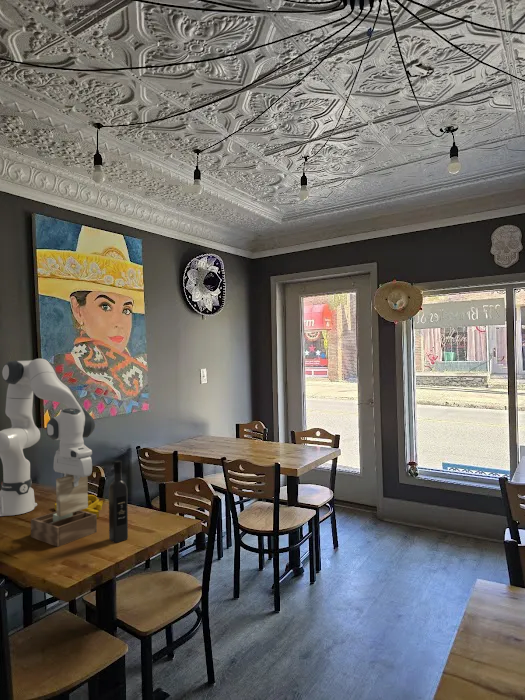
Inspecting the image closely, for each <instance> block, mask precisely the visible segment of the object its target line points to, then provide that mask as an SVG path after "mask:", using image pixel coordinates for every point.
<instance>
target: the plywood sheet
mask: <svg viewBox="0 0 525 700" xmlns="http://www.w3.org/2000/svg"><path fill="white" fill-rule="evenodd" d="M88 477H89V476H87V477H80V479H79V481H78V486H76V487H74V486H72V482H74V476H73V475H69V476H65V477H64V476H62V477H58V478H56V479H55V484H56V485H55V486H56V489H55V490H56V493H55V495H56V504H57V516H60V517H61V516H64V515H67V514H70V513H73V512H76V511H79V510H82V509H85V508H88V495H89V494H88V493H89V487H88V486H89V485H88V481H89V479H88Z"/></svg>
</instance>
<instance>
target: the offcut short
mask: <svg viewBox="0 0 525 700" xmlns="http://www.w3.org/2000/svg"><path fill="white" fill-rule="evenodd" d="M71 516H73V513H70V514H67V515H64V516H61V517H60V516H57V513H56V514H53V522H56V521H59V520H62V519H65V518H68V517H71Z"/></svg>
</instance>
